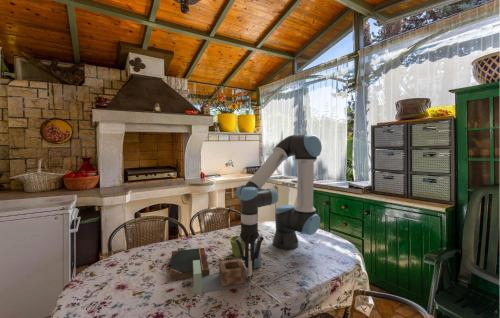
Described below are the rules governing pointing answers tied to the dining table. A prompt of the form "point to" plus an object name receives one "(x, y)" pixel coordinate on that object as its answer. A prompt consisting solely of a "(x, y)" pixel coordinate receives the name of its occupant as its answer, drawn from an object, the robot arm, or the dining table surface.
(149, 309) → the dining table surface
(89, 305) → the dining table surface
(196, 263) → the wall
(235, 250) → the plant pot
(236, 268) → the socket block
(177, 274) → the book
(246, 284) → the runner mat
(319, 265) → the dining table surface
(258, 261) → the dowel
